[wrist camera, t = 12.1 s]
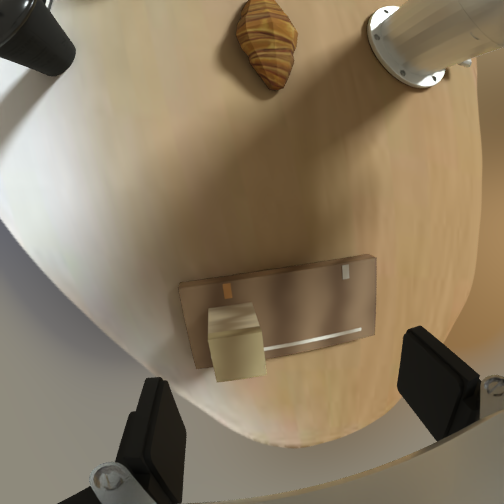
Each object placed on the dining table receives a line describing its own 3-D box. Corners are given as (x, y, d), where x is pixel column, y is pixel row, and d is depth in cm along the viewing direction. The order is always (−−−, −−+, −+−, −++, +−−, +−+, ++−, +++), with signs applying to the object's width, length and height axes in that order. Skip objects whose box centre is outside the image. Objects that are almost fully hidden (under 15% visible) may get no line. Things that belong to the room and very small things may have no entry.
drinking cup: (57, 97, 27) (-55, 42, 7) (24, 73, 25) (-77, 22, 6) (98, 45, 26) (19, -49, 7) (62, 25, 24) (-17, -54, 5)
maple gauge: (251, 302, 32) (261, 331, 26) (256, 339, 33) (266, 374, 27) (208, 308, 32) (207, 339, 25) (215, 346, 33) (217, 382, 26)
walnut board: (368, 254, 35) (376, 258, 33) (367, 328, 37) (375, 335, 35) (180, 282, 33) (178, 288, 31) (196, 360, 35) (196, 369, 33)
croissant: (227, 0, 27) (229, -23, 22) (282, -2, 28) (292, -23, 23) (242, 96, 30) (247, 81, 25) (303, 91, 31) (317, 78, 26)
